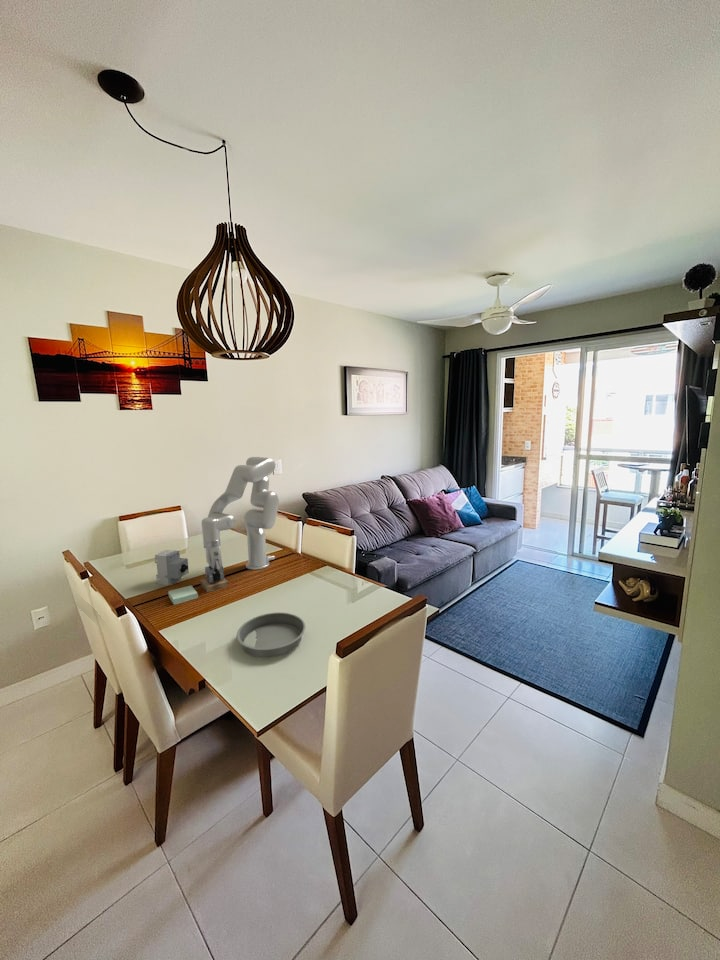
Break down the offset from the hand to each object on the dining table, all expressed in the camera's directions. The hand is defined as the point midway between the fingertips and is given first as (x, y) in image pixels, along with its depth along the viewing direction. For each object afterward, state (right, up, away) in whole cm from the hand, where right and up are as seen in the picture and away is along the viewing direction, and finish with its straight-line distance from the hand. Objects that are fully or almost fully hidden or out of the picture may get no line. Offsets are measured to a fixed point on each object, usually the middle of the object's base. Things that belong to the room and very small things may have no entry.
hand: (215, 578), depth 184 cm
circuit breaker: (-22, -3, +5) cm, 23 cm away
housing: (0, -1, 0) cm, 1 cm away
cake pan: (+38, -12, -44) cm, 59 cm away
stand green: (-10, -6, -11) cm, 16 cm away
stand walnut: (0, -4, 0) cm, 4 cm away
